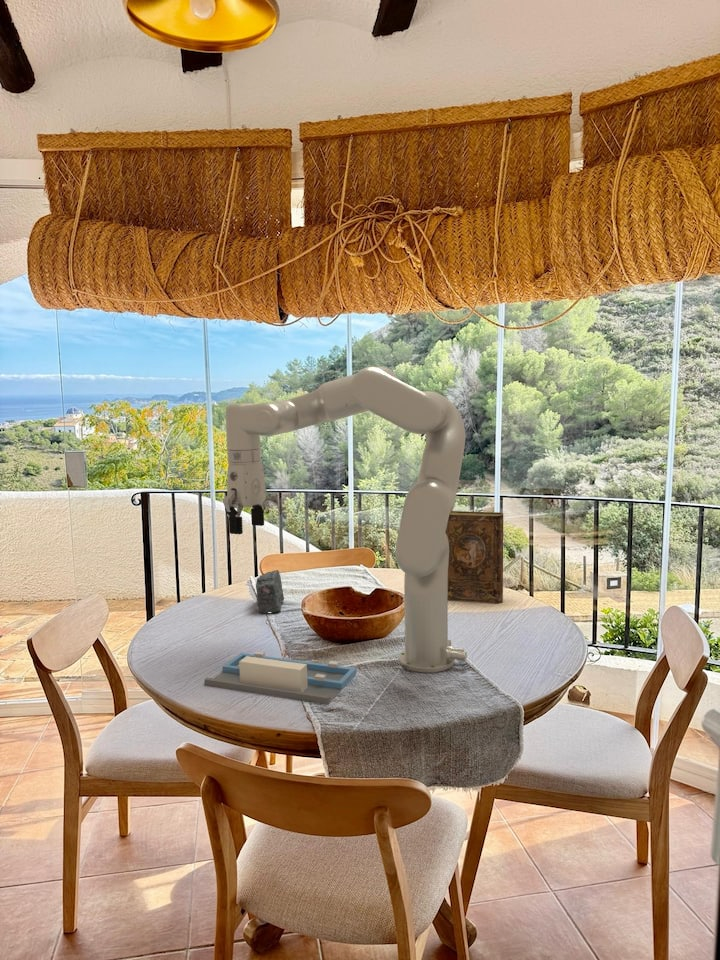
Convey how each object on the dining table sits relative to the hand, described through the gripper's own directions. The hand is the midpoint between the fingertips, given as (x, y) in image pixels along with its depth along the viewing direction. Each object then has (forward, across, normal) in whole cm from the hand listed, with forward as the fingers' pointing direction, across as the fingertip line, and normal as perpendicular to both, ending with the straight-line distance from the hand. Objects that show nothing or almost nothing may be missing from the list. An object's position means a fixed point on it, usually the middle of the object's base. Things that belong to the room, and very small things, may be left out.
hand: (247, 529), depth 164 cm
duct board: (+29, -16, -16) cm, 37 cm away
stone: (+29, +28, +11) cm, 42 cm away
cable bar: (+28, -19, -16) cm, 38 cm away
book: (+29, +53, -42) cm, 73 cm away
